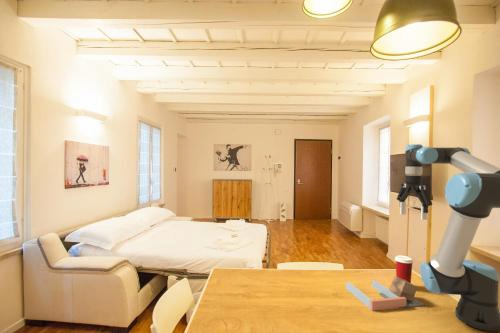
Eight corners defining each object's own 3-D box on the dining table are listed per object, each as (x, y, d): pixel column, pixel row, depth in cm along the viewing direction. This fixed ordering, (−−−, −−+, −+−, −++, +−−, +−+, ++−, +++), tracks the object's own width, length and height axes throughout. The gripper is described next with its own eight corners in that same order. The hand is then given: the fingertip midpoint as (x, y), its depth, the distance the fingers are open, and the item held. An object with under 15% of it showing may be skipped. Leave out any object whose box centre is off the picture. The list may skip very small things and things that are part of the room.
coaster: (424, 305, 123) (424, 304, 123) (398, 308, 120) (398, 306, 120) (403, 292, 135) (403, 291, 135) (379, 294, 133) (379, 293, 133)
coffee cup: (408, 283, 145) (408, 255, 145) (415, 290, 137) (416, 260, 137) (391, 283, 146) (391, 254, 146) (398, 290, 138) (398, 260, 138)
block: (412, 301, 125) (417, 287, 125) (399, 296, 124) (405, 281, 124) (400, 294, 132) (406, 280, 132) (389, 289, 131) (394, 275, 131)
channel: (406, 307, 121) (406, 298, 121) (372, 310, 118) (372, 301, 118) (375, 286, 142) (375, 278, 142) (345, 288, 139) (345, 280, 139)
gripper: (441, 176, 129) (440, 221, 129) (401, 174, 153) (401, 212, 154) (428, 176, 128) (427, 222, 128) (389, 174, 152) (389, 212, 152)
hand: (412, 216), depth 141 cm, fingers open, 13 cm apart
